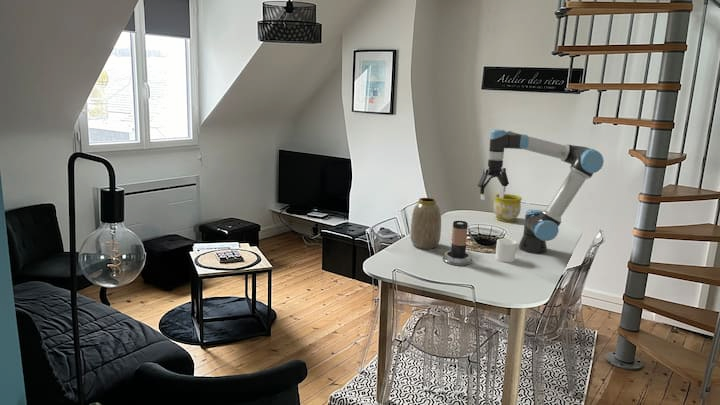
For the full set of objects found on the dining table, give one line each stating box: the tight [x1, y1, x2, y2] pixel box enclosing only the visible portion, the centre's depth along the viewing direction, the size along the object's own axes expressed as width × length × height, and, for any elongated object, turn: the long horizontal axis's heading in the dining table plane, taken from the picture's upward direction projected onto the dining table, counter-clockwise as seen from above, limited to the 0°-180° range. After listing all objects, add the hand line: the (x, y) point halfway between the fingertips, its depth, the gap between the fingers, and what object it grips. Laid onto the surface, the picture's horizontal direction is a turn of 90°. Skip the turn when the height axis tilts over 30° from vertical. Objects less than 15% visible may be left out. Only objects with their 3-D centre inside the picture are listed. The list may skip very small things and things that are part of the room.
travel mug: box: [450, 220, 469, 258], centre depth 275 cm, size 8×8×20 cm
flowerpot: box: [493, 193, 522, 223], centre depth 362 cm, size 18×18×16 cm
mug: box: [494, 238, 517, 264], centre depth 281 cm, size 13×10×10 cm
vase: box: [410, 197, 442, 250], centre depth 299 cm, size 17×17×27 cm
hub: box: [442, 250, 473, 267], centre depth 277 cm, size 15×15×4 cm
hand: (492, 198), depth 280 cm, fingers open, 13 cm apart
